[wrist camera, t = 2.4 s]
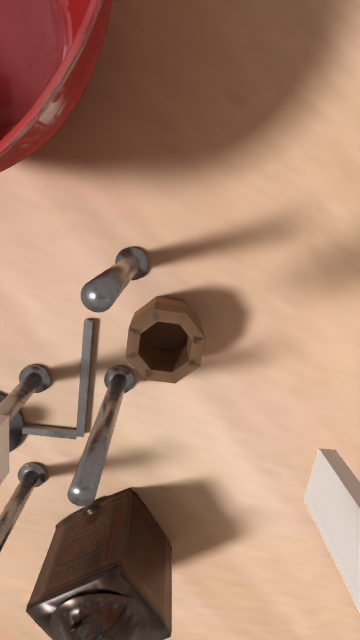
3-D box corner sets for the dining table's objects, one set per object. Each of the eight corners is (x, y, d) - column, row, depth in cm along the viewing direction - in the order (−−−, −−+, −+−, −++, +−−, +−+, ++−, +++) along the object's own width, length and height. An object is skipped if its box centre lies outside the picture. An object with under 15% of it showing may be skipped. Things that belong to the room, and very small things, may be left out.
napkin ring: (130, 355, 32) (123, 377, 28) (137, 293, 31) (131, 305, 26) (192, 362, 33) (196, 385, 28) (202, 302, 31) (208, 316, 26)
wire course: (19, 483, 36) (-80, 651, 22) (23, 230, 29) (-125, 232, 14) (120, 492, 37) (89, 660, 23) (149, 249, 30) (131, 270, 15)
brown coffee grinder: (129, 481, 37) (94, 706, 19) (174, 545, 40) (177, 790, 22) (17, 533, 38) (-108, 784, 21) (67, 590, 41) (-6, 853, 24)
